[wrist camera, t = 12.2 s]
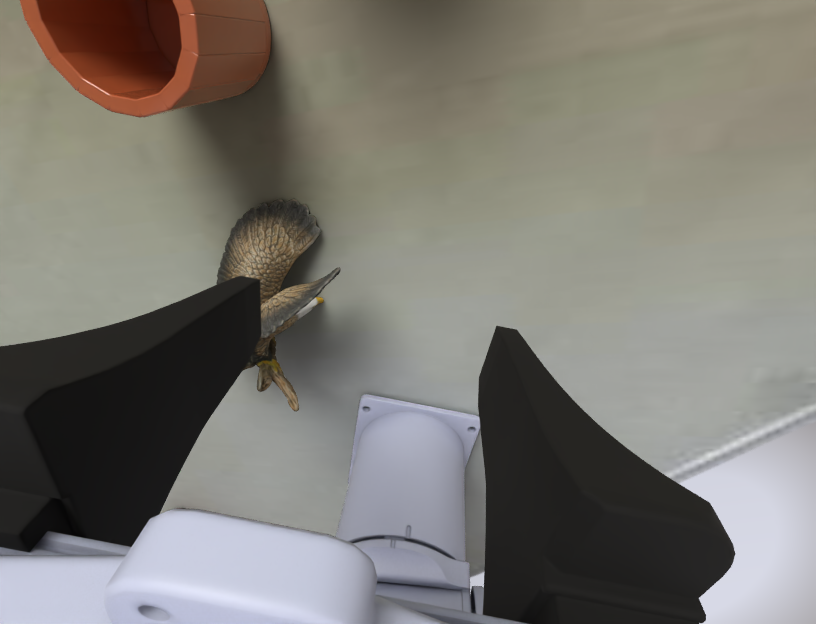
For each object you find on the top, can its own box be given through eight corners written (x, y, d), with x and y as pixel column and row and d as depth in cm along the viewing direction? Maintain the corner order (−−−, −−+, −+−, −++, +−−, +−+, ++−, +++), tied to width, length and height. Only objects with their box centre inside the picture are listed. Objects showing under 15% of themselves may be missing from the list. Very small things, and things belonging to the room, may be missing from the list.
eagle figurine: (352, 375, 26) (386, 260, 19) (245, 447, 21) (246, 324, 15) (274, 298, 28) (283, 176, 22) (164, 347, 24) (136, 208, 17)
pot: (272, 108, 19) (205, 130, 14) (154, 85, 19) (45, 99, 14) (271, -45, 16) (187, -86, 11) (132, -73, 16) (-15, -126, 11)
